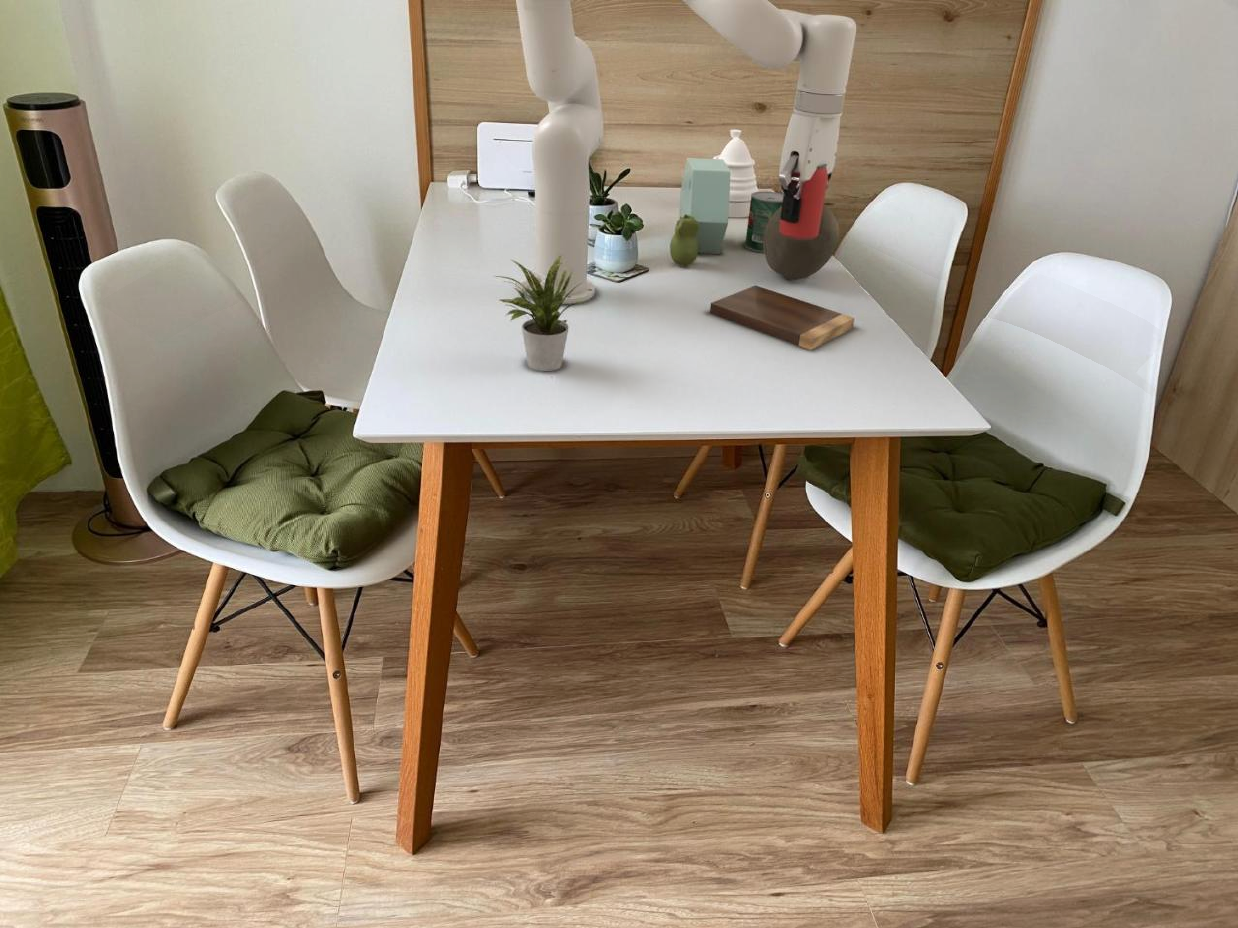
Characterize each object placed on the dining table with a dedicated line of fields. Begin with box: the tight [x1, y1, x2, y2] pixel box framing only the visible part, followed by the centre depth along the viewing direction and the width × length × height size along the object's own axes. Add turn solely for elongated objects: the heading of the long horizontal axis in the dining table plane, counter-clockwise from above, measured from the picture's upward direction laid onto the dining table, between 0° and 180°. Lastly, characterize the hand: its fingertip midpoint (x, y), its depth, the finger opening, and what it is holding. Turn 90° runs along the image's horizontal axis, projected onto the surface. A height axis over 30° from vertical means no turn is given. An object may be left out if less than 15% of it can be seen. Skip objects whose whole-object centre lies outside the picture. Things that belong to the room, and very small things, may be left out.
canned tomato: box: [744, 190, 783, 254], centre depth 194 cm, size 8×8×11 cm
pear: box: [669, 214, 699, 267], centre depth 181 cm, size 6×5×10 cm
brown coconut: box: [763, 204, 840, 281], centre depth 177 cm, size 14×14×15 cm
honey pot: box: [712, 129, 759, 218], centre depth 216 cm, size 13×13×18 cm
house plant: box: [494, 256, 588, 372], centre depth 137 cm, size 14×14×16 cm
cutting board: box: [709, 285, 856, 351], centre depth 160 cm, size 14×21×2 cm, turn 48°
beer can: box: [779, 164, 828, 240], centre depth 149 cm, size 7×7×12 cm
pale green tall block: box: [678, 157, 730, 255], centre depth 190 cm, size 17×8×21 cm
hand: (801, 216), depth 151 cm, fingers closed on beer can, 6 cm apart
